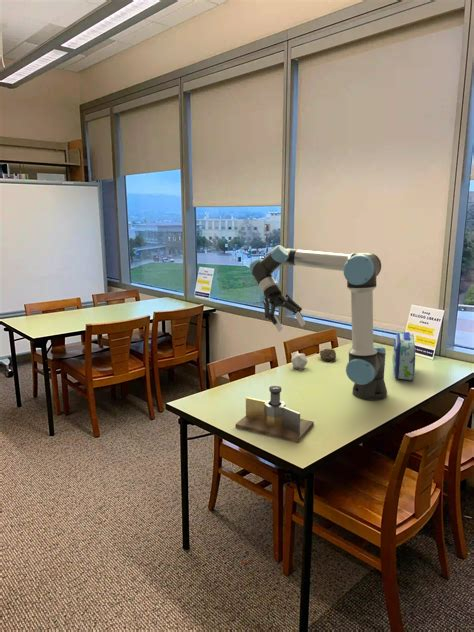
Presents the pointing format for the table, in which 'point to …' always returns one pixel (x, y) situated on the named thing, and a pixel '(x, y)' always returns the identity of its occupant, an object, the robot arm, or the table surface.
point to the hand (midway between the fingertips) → (292, 327)
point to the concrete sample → (328, 355)
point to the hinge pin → (275, 395)
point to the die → (299, 360)
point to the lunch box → (404, 356)
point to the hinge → (273, 414)
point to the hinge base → (274, 429)
